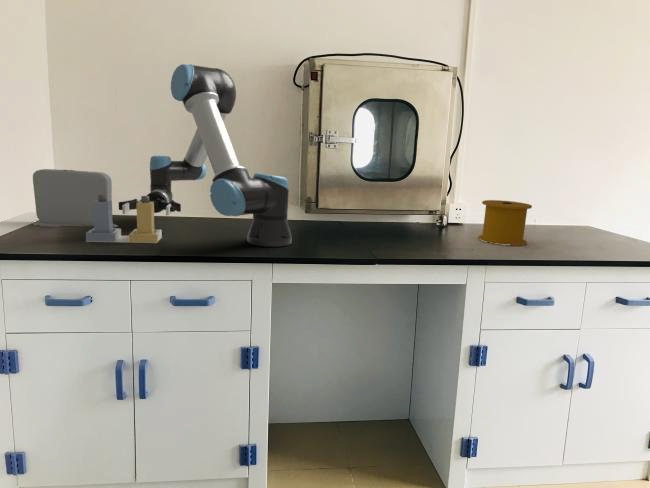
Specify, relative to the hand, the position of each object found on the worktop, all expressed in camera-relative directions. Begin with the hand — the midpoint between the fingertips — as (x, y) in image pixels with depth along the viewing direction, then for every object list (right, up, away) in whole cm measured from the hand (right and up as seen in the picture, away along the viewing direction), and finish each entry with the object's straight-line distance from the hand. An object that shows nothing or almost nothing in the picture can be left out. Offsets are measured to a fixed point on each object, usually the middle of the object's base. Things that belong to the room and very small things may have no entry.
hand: (145, 210), depth 170 cm
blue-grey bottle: (-13, -9, -2) cm, 16 cm away
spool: (+127, -10, +33) cm, 131 cm away
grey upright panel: (-33, -4, +21) cm, 40 cm away
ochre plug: (0, -9, 0) cm, 9 cm away
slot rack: (-6, -10, 0) cm, 12 cm away
